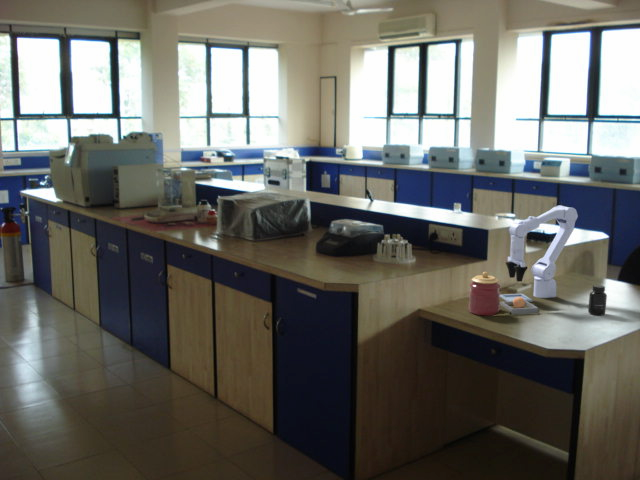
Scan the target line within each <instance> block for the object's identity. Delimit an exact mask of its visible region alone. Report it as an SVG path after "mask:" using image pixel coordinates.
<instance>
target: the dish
mask: <svg viewBox="0 0 640 480" xmlns="http://www.w3.org/2000/svg"><path fill="white" fill-rule="evenodd" d="M516 297H522V298H523V299H524V300H525V301H527V302H529V303H530V302H531V303H532V302H533V301H534V300H533V299H532V298H530V297H528V296H527V295H525V294H524V293H508V294H507V293H505V294H500V298H501V299H503V300H505V302H508V301H513V300H514V299H515V298H516Z"/></svg>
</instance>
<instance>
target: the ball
mask: <svg viewBox="0 0 640 480" xmlns="http://www.w3.org/2000/svg"><path fill="white" fill-rule="evenodd" d="M512 306H513V307H514V308H524V307H525V300H524V299H523V298H522V297H516V298H515V299H514V300H513V305H512Z"/></svg>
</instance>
